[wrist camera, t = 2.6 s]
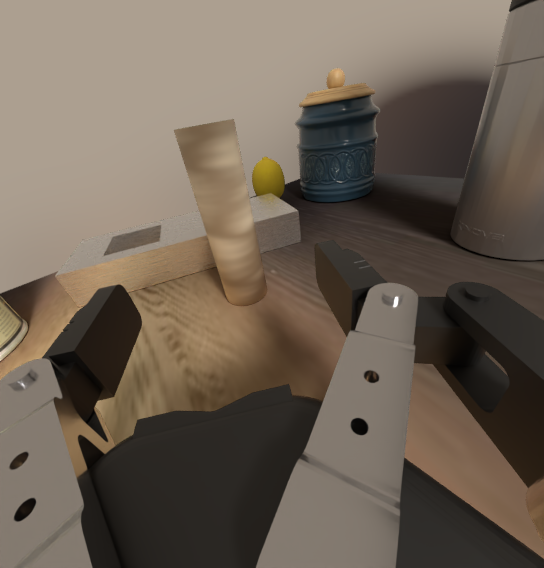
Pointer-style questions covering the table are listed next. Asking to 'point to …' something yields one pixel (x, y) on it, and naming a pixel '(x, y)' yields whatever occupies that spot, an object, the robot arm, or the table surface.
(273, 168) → the lemon
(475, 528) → the robot arm
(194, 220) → the block
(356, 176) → the canister
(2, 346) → the coffee can
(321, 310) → the table surface
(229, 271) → the peg
